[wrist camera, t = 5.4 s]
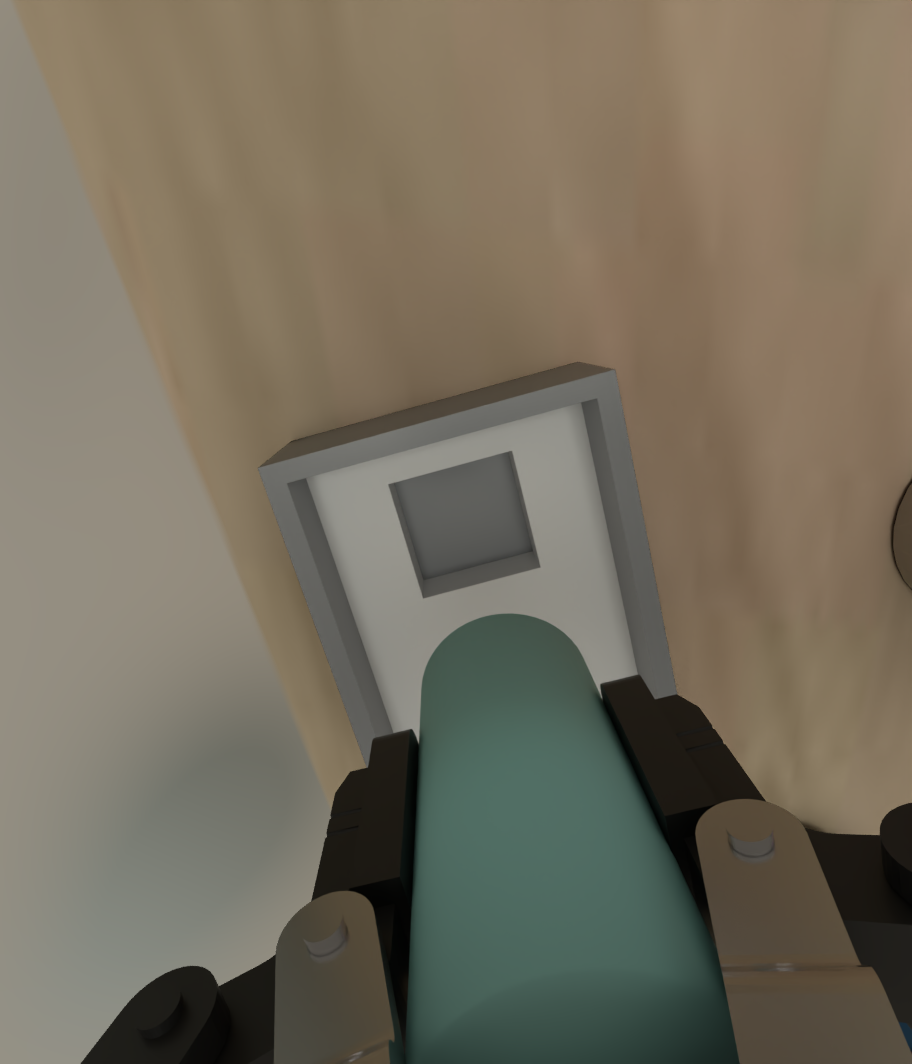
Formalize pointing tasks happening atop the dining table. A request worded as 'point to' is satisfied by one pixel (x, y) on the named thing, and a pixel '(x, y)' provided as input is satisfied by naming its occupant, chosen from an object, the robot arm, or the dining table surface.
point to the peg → (545, 874)
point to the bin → (471, 536)
